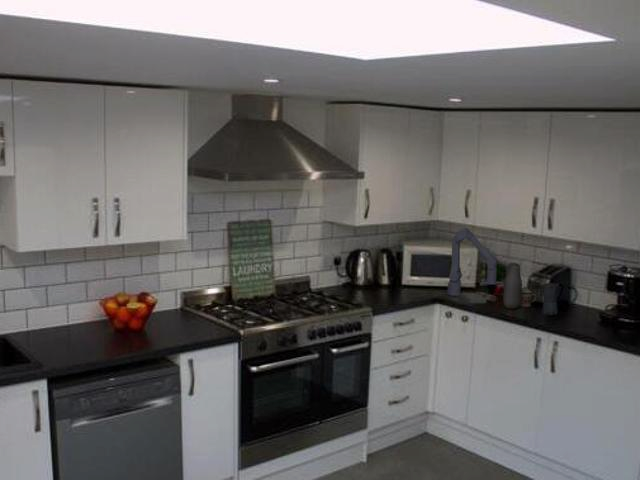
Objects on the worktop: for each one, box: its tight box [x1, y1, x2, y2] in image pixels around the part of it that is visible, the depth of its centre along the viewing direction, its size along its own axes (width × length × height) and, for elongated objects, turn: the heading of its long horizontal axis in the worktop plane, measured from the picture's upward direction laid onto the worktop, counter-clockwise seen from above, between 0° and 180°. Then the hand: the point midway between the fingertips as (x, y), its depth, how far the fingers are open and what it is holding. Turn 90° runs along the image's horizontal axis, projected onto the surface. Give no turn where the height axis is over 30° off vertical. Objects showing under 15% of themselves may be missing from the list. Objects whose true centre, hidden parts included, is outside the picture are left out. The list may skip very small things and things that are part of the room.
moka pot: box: [540, 280, 565, 316], centre depth 393 cm, size 10×15×20 cm, turn 111°
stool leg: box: [476, 290, 497, 302], centre depth 428 cm, size 16×3×3 cm, turn 28°
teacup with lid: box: [519, 286, 537, 308], centre depth 413 cm, size 12×9×12 cm
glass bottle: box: [502, 262, 523, 310], centre depth 402 cm, size 10×10×28 cm
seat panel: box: [460, 292, 487, 304], centre depth 425 cm, size 18×10×2 cm, turn 7°
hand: (490, 296), depth 428 cm, fingers closed, pressing on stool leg
